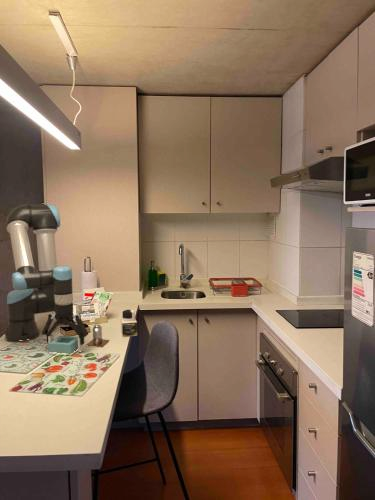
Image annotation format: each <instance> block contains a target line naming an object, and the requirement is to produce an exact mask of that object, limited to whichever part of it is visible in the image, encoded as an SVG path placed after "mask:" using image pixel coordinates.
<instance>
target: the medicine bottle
mask: <svg viewBox="0 0 375 500" xmlns="http://www.w3.org/2000/svg"><path fill="white" fill-rule="evenodd" d="M121 315H122V318H121V319H120V333H121V335H122V337H123V338H125V337H135V336H138V321H137V319H136V311H135V310H133V309H125V310H123V311H122V314H121Z"/></svg>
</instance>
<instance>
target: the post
mask: <svg viewBox="0 0 375 500" xmlns="http://www.w3.org/2000/svg"><path fill="white" fill-rule="evenodd" d="M102 329H103V328H102V326H101V325H100V324H94V325H93V327H92V339H91V340H90V341H89V342H87V344H85V346H86V345H88V346H87V347H90V346H97V347H96V348H103V347H104V346H106V345H107V344H108V343H109V342H110V339H103V333H102V331H103V330H102ZM108 341H109V342H108ZM107 342H108V343H107ZM106 343H107V344H106Z"/></svg>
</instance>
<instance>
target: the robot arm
mask: <svg viewBox="0 0 375 500" xmlns="http://www.w3.org/2000/svg"><path fill="white" fill-rule="evenodd" d="M5 226H6V227H5V228H6V231H7V233H9V236H10V243H11V248H12V254H13V261H14V265H15V266H14V267H15V272H13V273H12V275H11V281H12V288H13V289H14V290H11V291H10V292H8V294H7V296H6V297H7V299H6V304H7V319H8V321H7V322H8V323H7V326H6V330H5V334H4V337H5V338H4V340H5V339H7V340H10V341H19V340H27V339H31V340H34V339H36V338H39V336H40V329H39V327H38V325H37V322H36V320H35V315H36V314H44V313H45V314H46V313H49V314H48V315H47V321H46V323H45V325H44V328H43V330H42V331H41V335H42V336H43V335H45V337H46V343H47V344H48V343H50V342H51V341H53V340H54V334H53V333H54V331H55V329H57V327H58V326H60V325H61V326H69V327H70V328H71V329H72V330H73V331H74V332H75V333H76V335H77V337H79V338H78V351H77V352H80V351H82V350H83V351H84V346H83V345H84V344H85V337H87V336H89V331H88V330H87V328H86V326H85V324H84V322H83V320H82V318H81V317H82V316H81V315H82V314H80V313H78V314H74V302H73V301H74V295H73V273H72V268H71V267H70V266H59V267H58V263H57V262H58V261H57V249H56V238H55V234H56V233H57V232H58V228H60V227H61V216H60V212H59V209H58V208H57V207H56V205H53V204H21V205H18V206H16V207H15V208H13V209H12V210H11V211H10V212H9V214H8V216H7V218H6V222H5ZM29 229H32V233H33V234H35V236H36V245H37V246H36V247H37V259H38V261H37V262H38V270H35V264H34V259H33V254H32V249H31V243H30V239H29V234H28V230H29ZM53 312H54V313H53ZM54 319H55V320H56V321H55V322H54V323H53V325H52V322H53V321H54ZM51 325H52V326H51ZM33 338H34V339H33ZM7 340H6V341H7ZM10 341H9V342H10ZM27 341H28V340H27ZM83 351H82V352H83Z"/></svg>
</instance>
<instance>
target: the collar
mask: <svg viewBox="0 0 375 500" xmlns="http://www.w3.org/2000/svg"><path fill="white" fill-rule="evenodd" d="M78 338H79V336H73V335H59V336H58V337H56V338H55V339H53V341H51V342H50V343H47V344H48V353H49V352H57V353H69V354H71V353H73V352H74V351H76V350H77V349H78Z"/></svg>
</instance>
